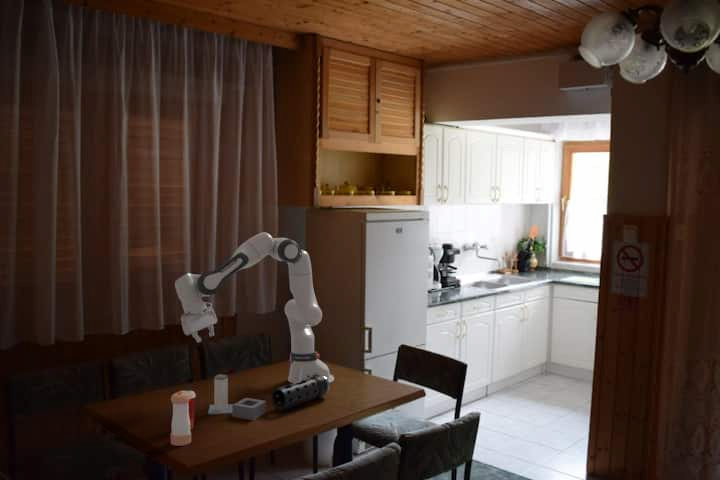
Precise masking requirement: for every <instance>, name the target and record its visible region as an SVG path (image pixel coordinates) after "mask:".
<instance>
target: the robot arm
mask: <svg viewBox="0 0 720 480" xmlns="http://www.w3.org/2000/svg"><path fill="white" fill-rule="evenodd" d="M267 256H268V257H270V258H271V259H273V260H276V261H279V262H285V263H287V266H288V279H289V280H288V281H289V290H290V293H291V294H292V296H293V297H292V298H293V299H290V300H288V301H287V302H286V304H285V305H284V314H285V316H286V317H287V320H288V326H289V330H290V338H291V340H290V341H291V344H290V345H291V350H290V353H289V354H290V355H289V363H290V367H289V374H288V378H287V381H288V382H290V384H293V383H296V382H299V381H302V380H305V379H309V378H310V377H313V376H316V375H323V376H325V377H326V378H327V379H328V381H329V384H332V382H333V381H334V382H335V377H334V375H333V374H332V373H330V369H329V366H328V365H327V364H326V363H324V362H323V361H322V360H320V359H319V358H320V354H319V352H317V351H315V335H314V332H313V330H312V327H313V326H314V327H315V326H317V325H319V324H320V323H321V321H322V320H323V319H322V318H323V311H322V309H321V307H320V306H319V304H318V301H317V297H316V295H315V290H314V283H313V281H314V280H313V271H312V262H311V258H310V255H309V253H308V252H307V251H305V250H304V249H301V247H300V246H299V244H298V243H297V242H296V241H295V240H293V239H291V238H286V237H279V236H278V237H277V236H276V237H273V236H272V235H271V234H270V233H268V232H266V231H265V232H264V231H261V232H260V233H257V234H256V235H253V236H252V237H250V238H248V239H247V240H246V241H244V242H243V243H242V244H240V245H239V246H238V247H237V249H236V250H235V251H234V252H233V255H232V256H231V257H230V258H229V259H228V260H227V261H225V262H224V263H223V264H222V265H220V266H219V267H217V268H216V269H214V270H210V271H206V272H204V273H202V274H193V273H191V272H186V273H184V274H182V275H180V276H179V277H177V279H175V282H174V287H175V290H176V294H177V296H178V299H179V300H180V302H181V306H182V309H183V314H181V317H180V321H181V322H180V323H181V326H182V331H183V333H184V335H186V336H189V335H191V336H192V338H194V339H195V341H196V343H200V342H202V341H203V339H202V337H201V336H200V335H198V332H199V331H201V330H203V329H206V328H207V329H208V331H209V333H208V335H209V337H213V336H215V332H214V328H215V327H214V325H215V324H217V323H218V317H217V315H216V312H215V310H214V309H213V308H212V307H213V305H212V303H211V302H206V301H203V299H202V297H203V298H204V297H211V296H213V295H215V294H217V293H218V292H219V291H220V290H221V287H222V286H223V284H224V282H226V281H227V280H228V279H229V278H231V277H232V276H233V275H234V274H236V273H237V272H239V271H241V270H243V269H248V268H251V267H252V266H254V265H256V264H257V263H259V262H260V261H261V260H263V259H264V258H265V257H267Z"/></svg>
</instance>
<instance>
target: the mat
mask: <svg viewBox="0 0 720 480" xmlns="http://www.w3.org/2000/svg"><path fill="white" fill-rule="evenodd" d="M233 404H234V403H233ZM233 404H232V403H231V404H229V403H228V408H227V409H225V410H223V411H221V410H215V409H214V404H210V405H209V408H208V411H207V415H226V414H227V415H228V414H229V415H230V414H231V415H232V405H233Z"/></svg>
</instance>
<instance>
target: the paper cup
mask: <svg viewBox="0 0 720 480" xmlns="http://www.w3.org/2000/svg"><path fill="white" fill-rule="evenodd" d="M181 391H182V392H185V393H188V394H189V395H190V397H191V398H190V401H189V402H188V412H189V419H190V431H191V430H194V429H193V428H194V421H195V405H196V404H195V402H196V396H197V395H196V393H195V391H193V390H181Z"/></svg>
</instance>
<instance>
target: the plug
mask: <svg viewBox="0 0 720 480" xmlns="http://www.w3.org/2000/svg"><path fill="white" fill-rule="evenodd" d="M228 377H229V376H228V375H227V374H217V375H215V376H214V377H213V379H214V380H213V382H214V385H213V386H214V388H213V389H214V390H213V392H214V393H213V394H214V397H213V399H214V401H213V403H214V404H213V405H214V409H215V410H221V411H223V410H225V409H227V408H228V404H229V386H228V385H229V382H228V381H229V379H228Z"/></svg>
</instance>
